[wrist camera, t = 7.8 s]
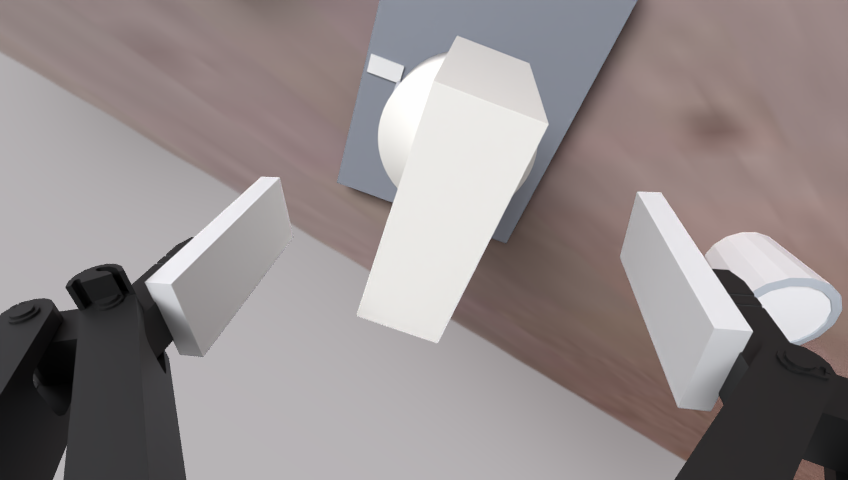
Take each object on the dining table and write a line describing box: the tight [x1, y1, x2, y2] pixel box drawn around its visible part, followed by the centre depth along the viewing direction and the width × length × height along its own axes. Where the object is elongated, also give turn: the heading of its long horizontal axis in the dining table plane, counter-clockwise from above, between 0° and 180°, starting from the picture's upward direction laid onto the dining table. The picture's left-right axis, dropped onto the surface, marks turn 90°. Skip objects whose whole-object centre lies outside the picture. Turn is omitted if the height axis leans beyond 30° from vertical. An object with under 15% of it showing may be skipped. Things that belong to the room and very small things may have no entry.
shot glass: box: [704, 232, 842, 345], centre depth 34 cm, size 7×7×7 cm
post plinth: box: [337, 0, 637, 243], centre depth 29 cm, size 15×20×8 cm
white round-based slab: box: [356, 36, 549, 343], centre depth 21 cm, size 12×8×12 cm
